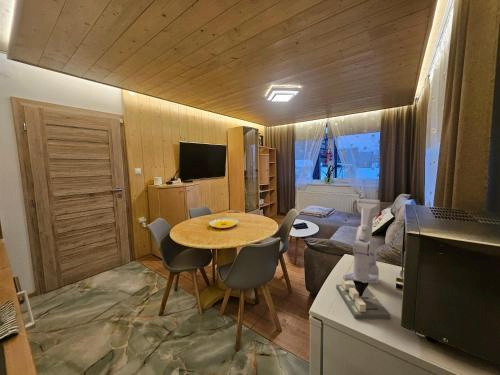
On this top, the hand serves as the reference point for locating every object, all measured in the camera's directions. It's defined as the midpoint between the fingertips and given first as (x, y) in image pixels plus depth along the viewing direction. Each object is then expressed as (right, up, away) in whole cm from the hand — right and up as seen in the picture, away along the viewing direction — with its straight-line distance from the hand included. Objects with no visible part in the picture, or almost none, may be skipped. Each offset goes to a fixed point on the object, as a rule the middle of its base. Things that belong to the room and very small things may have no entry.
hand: (359, 295), depth 93 cm
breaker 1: (-3, 0, +7) cm, 8 cm away
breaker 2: (-3, -2, -7) cm, 8 cm away
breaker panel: (+1, -3, 0) cm, 3 cm away
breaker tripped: (-2, -1, 0) cm, 3 cm away
